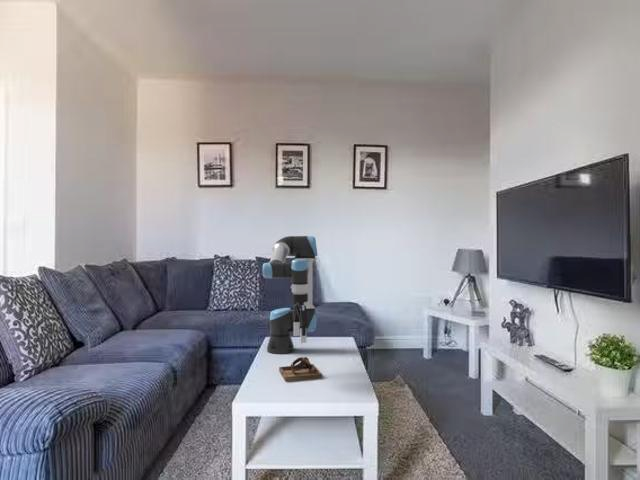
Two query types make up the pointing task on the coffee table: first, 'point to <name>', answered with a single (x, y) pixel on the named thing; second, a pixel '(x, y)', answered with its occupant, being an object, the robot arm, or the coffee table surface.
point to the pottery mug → (301, 364)
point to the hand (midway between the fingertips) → (299, 339)
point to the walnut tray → (299, 374)
